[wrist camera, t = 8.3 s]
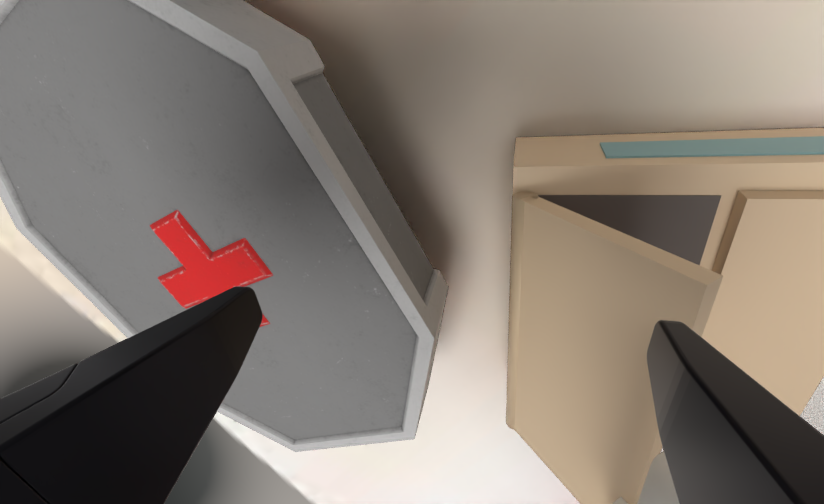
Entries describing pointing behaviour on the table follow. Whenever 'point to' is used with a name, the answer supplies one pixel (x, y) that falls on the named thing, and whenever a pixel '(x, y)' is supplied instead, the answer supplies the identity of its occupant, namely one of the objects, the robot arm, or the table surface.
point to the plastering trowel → (593, 348)
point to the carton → (714, 228)
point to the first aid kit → (220, 203)
